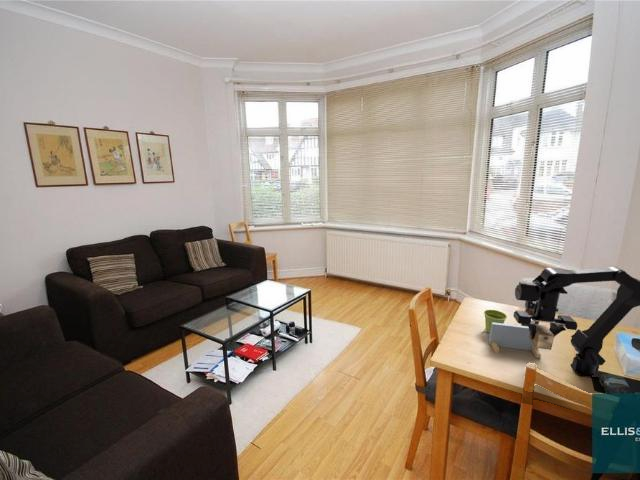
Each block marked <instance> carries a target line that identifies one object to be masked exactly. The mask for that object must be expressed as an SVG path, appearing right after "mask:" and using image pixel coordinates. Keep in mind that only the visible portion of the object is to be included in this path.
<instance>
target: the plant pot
mask: <svg viewBox="0 0 640 480" xmlns="http://www.w3.org/2000/svg"><path fill="white" fill-rule="evenodd" d="M483 314H484V317H485V318H484V319H485V320H484V321H485V323H484V324H485V331H486V332H487V333H488V334H490V331H491V325H492V322H494V323H502V324H505V321H506V320H507V319H508V315H507V314H506V313H504V312H502V311H500V310H497V309H486V310H483Z"/></svg>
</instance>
